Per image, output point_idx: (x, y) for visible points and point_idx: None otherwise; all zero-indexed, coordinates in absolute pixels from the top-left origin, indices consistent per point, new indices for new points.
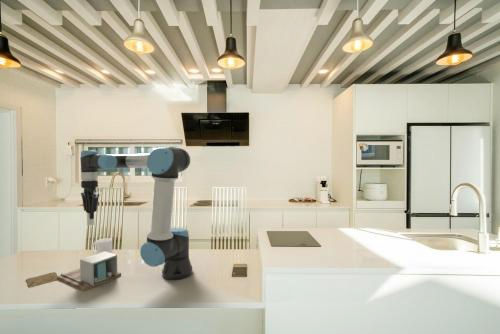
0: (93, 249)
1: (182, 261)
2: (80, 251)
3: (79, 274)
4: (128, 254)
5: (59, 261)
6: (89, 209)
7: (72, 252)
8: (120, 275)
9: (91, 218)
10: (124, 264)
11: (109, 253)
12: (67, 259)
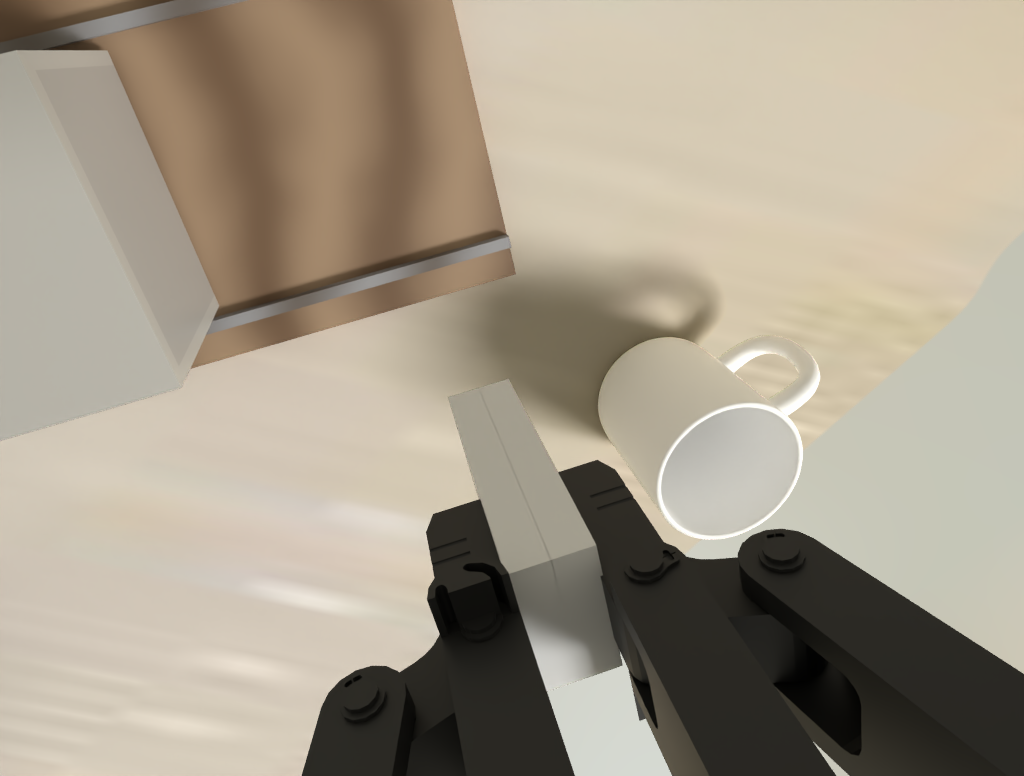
0: (775, 347)
1: None
2: (960, 266)
3: (315, 92)
4: None
5: (875, 47)
6: (487, 695)
7: (998, 204)
8: None
9: (429, 531)
10: (341, 473)
11: (43, 409)
12: (863, 122)
